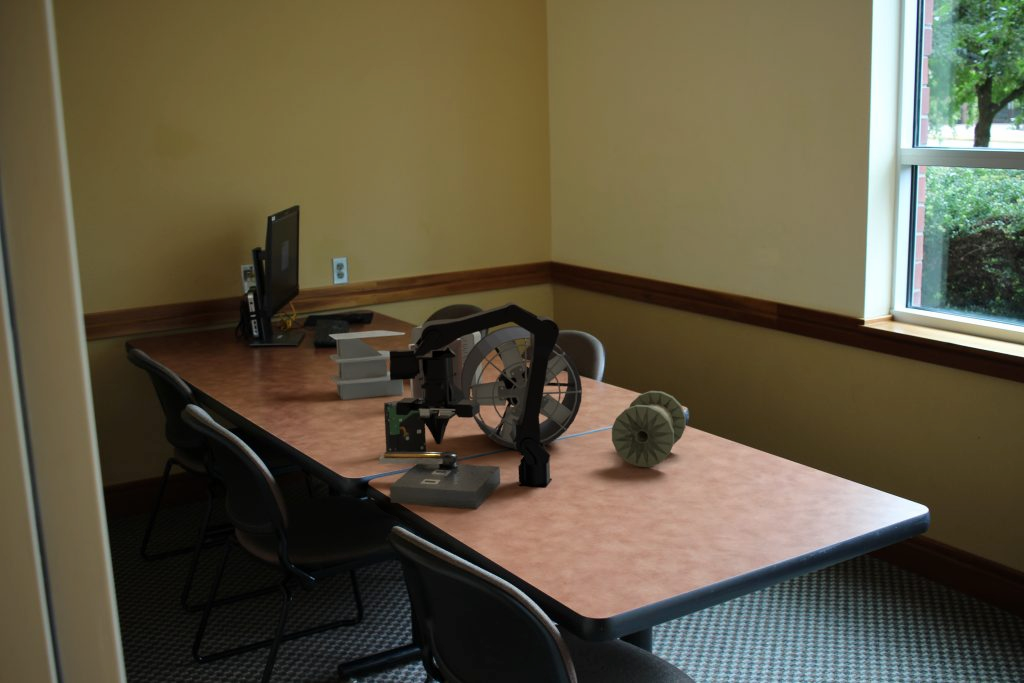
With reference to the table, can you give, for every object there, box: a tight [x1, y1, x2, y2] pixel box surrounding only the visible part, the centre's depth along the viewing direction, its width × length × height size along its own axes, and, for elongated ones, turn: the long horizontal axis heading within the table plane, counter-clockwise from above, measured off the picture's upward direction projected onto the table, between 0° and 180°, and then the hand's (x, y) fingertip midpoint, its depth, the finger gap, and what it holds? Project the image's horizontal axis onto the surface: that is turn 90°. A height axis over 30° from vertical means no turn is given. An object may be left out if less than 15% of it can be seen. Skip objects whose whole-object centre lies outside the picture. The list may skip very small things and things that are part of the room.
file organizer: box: [328, 329, 406, 401], centre depth 315 cm, size 26×35×22 cm
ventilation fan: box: [461, 325, 583, 450], centre depth 263 cm, size 30×18×30 cm, turn 99°
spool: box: [611, 390, 687, 468], centre depth 248 cm, size 16×15×15 cm
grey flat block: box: [389, 463, 501, 510], centre depth 226 cm, size 20×18×4 cm
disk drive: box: [383, 398, 427, 452], centre depth 254 cm, size 10×3×15 cm, turn 119°
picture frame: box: [407, 338, 464, 408], centre depth 298 cm, size 16×2×22 cm, turn 119°
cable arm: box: [378, 450, 459, 468], centre depth 234 cm, size 4×18×3 cm, turn 83°
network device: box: [411, 325, 483, 388], centre depth 330 cm, size 26×9×20 cm, turn 58°
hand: (439, 444), depth 227 cm, fingers closed
